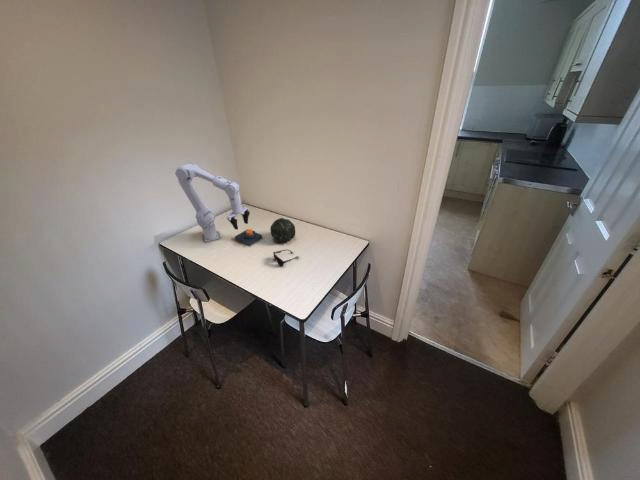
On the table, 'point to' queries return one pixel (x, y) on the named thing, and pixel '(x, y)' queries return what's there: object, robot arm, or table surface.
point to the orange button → (249, 232)
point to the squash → (282, 230)
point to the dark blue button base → (248, 238)
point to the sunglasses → (280, 259)
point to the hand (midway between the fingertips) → (241, 226)
